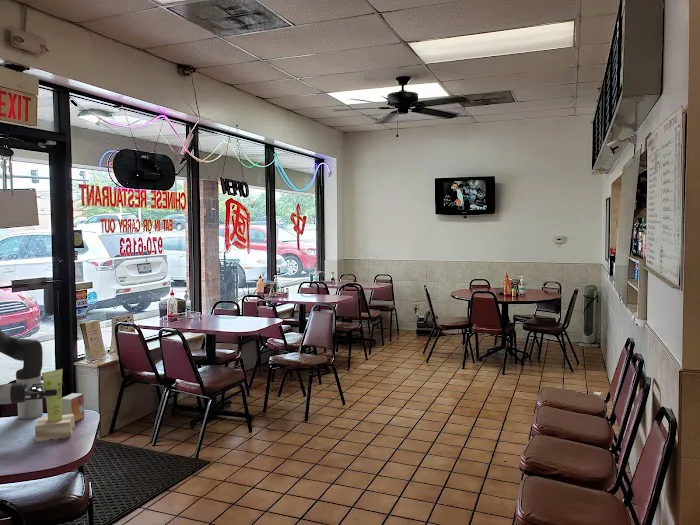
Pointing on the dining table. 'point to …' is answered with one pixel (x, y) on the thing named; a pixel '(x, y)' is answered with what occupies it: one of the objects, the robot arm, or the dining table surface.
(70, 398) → the small box
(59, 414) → the tube
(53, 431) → the birch block
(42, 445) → the dining table surface
